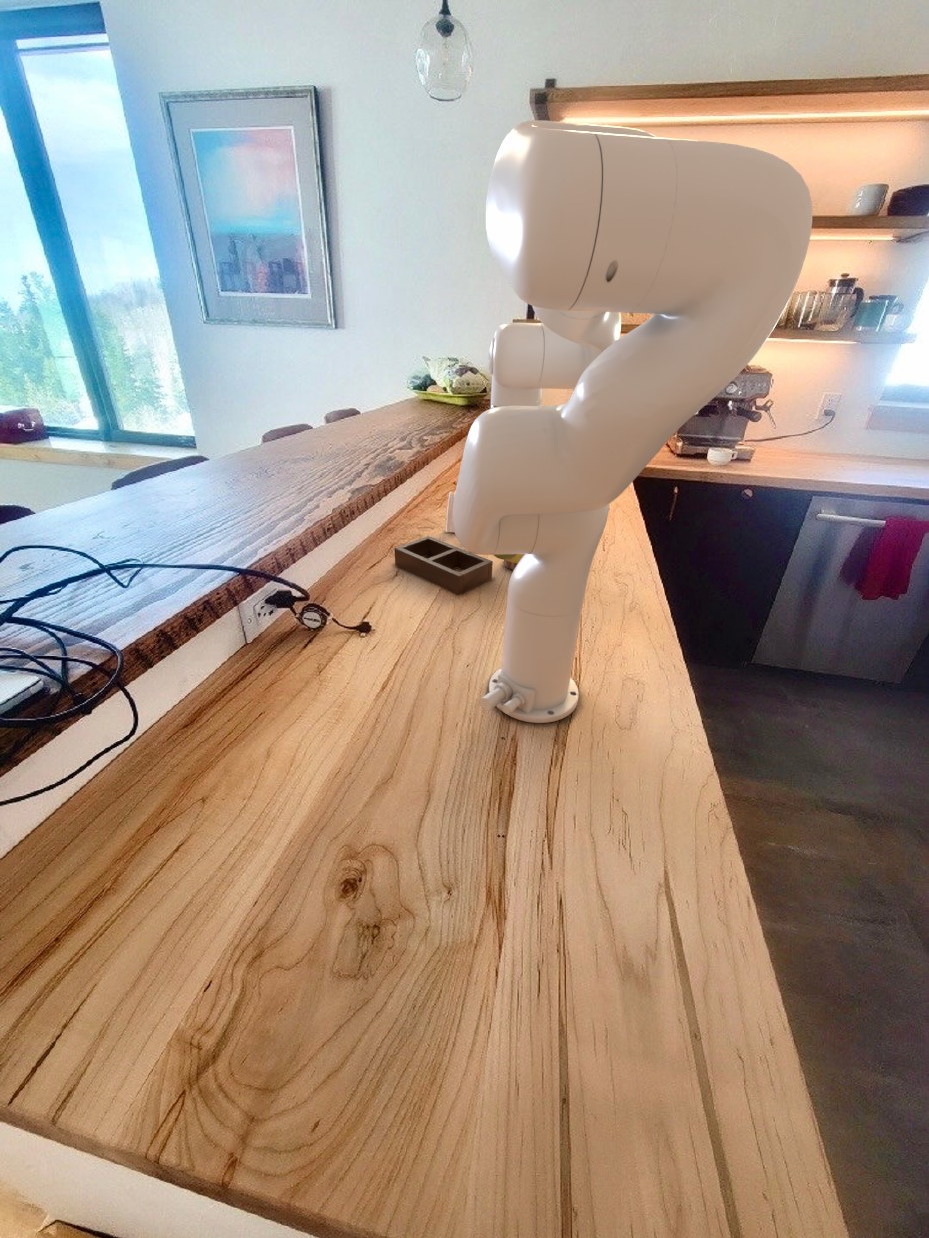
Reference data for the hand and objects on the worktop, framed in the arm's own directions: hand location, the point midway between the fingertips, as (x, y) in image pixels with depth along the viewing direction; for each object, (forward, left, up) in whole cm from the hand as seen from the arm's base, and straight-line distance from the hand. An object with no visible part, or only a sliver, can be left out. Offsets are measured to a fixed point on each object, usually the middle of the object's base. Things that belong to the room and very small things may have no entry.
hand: (506, 531), depth 85 cm
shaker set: (+24, +29, -15) cm, 40 cm away
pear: (0, 0, -5) cm, 5 cm away
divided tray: (+3, +18, -15) cm, 23 cm away
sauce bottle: (+17, +9, -15) cm, 24 cm away
